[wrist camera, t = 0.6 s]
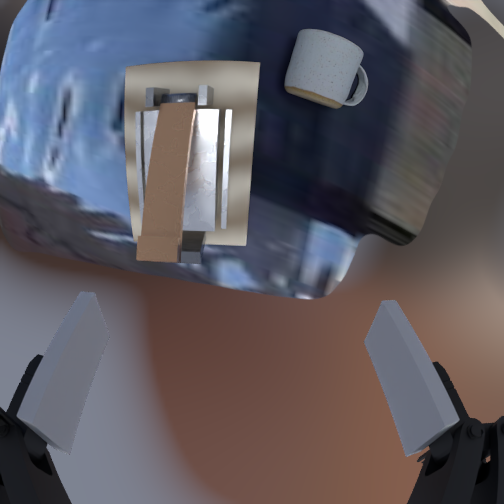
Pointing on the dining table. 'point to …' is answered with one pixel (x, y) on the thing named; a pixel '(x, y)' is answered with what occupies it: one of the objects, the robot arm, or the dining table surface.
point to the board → (242, 132)
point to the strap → (167, 180)
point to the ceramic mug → (325, 69)
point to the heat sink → (191, 168)
